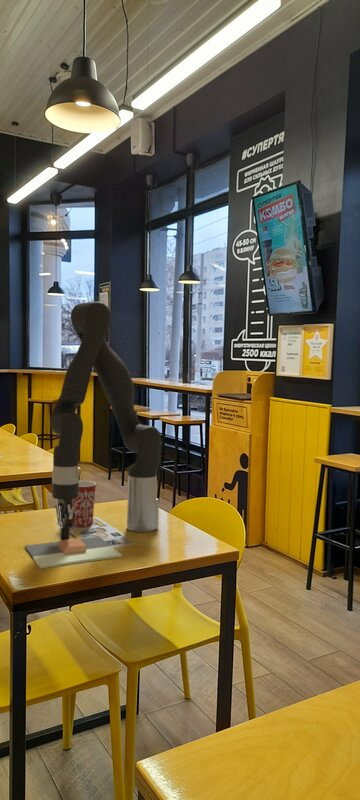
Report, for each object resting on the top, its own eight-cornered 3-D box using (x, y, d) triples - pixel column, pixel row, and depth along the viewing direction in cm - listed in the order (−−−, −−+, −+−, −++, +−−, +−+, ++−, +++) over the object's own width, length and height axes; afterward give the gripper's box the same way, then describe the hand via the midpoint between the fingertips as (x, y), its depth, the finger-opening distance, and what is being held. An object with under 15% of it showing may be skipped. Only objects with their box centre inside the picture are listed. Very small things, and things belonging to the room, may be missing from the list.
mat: (99, 538, 168) (99, 536, 168) (121, 556, 152) (121, 554, 152) (24, 547, 158) (24, 545, 158) (40, 568, 142) (40, 566, 142)
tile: (78, 538, 160) (86, 545, 154) (78, 544, 160) (86, 551, 154) (57, 540, 157) (64, 548, 151) (57, 547, 157) (64, 554, 151)
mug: (99, 526, 182) (100, 484, 181) (72, 529, 177) (73, 487, 177) (86, 516, 193) (87, 477, 192) (60, 519, 188) (61, 479, 188)
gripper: (85, 484, 156) (84, 545, 157) (71, 475, 168) (71, 532, 169) (58, 486, 153) (57, 548, 154) (46, 477, 165) (46, 535, 165)
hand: (64, 540), depth 161 cm, fingers closed
